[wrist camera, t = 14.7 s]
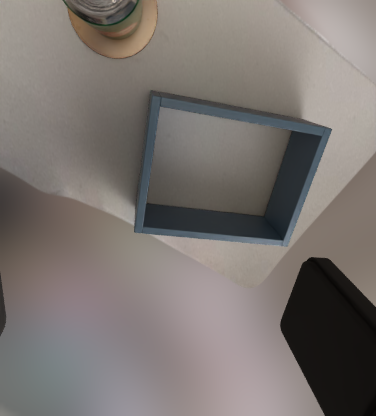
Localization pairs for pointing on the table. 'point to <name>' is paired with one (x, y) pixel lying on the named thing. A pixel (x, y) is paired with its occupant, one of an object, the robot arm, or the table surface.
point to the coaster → (123, 46)
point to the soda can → (109, 16)
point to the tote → (230, 222)
